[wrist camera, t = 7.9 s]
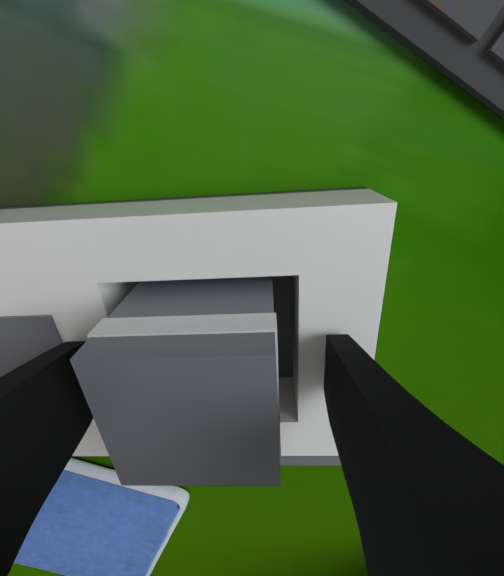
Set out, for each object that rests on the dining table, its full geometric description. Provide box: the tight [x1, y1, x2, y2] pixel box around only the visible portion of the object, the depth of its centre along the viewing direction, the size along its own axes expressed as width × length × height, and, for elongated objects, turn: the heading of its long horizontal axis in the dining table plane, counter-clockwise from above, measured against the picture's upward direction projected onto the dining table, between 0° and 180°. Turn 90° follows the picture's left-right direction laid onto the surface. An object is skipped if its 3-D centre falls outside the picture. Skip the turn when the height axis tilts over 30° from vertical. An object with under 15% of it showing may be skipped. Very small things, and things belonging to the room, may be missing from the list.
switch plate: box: [0, 187, 397, 456], centre depth 11 cm, size 9×14×3 cm, turn 94°
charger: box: [70, 276, 281, 486], centre depth 9 cm, size 4×4×5 cm
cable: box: [279, 456, 342, 466], centre depth 14 cm, size 1×10×1 cm, turn 94°
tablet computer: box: [14, 457, 189, 576], centre depth 18 cm, size 19×13×1 cm, turn 68°
